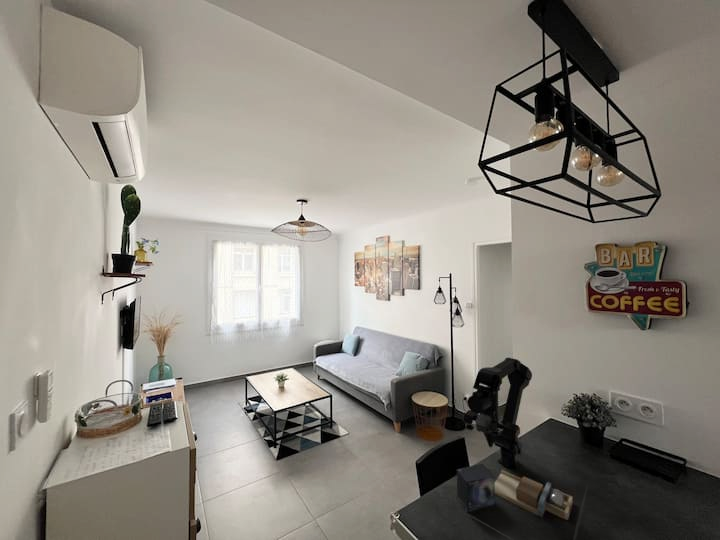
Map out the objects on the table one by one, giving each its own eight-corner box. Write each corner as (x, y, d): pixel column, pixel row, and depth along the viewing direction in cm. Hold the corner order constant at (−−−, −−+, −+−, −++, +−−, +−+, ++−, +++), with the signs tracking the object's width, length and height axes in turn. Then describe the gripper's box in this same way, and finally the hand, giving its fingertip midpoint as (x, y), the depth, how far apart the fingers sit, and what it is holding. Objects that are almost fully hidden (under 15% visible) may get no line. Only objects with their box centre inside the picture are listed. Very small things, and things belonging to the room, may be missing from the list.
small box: (468, 515, 92) (467, 482, 92) (456, 499, 99) (455, 468, 99) (496, 507, 95) (495, 475, 95) (482, 492, 101) (482, 462, 101)
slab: (523, 486, 103) (523, 476, 103) (543, 495, 99) (543, 484, 99) (516, 499, 97) (516, 488, 97) (536, 509, 93) (536, 498, 93)
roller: (549, 508, 94) (547, 496, 94) (552, 498, 98) (550, 487, 98) (563, 512, 91) (561, 500, 92) (565, 503, 95) (563, 491, 95)
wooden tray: (501, 473, 111) (501, 462, 111) (572, 504, 95) (572, 492, 95) (488, 492, 101) (488, 480, 101) (565, 530, 86) (565, 516, 86)
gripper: (455, 404, 108) (456, 446, 108) (510, 421, 96) (511, 469, 96) (468, 394, 116) (469, 434, 116) (520, 409, 104) (521, 453, 104)
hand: (490, 446), depth 108 cm, fingers closed
